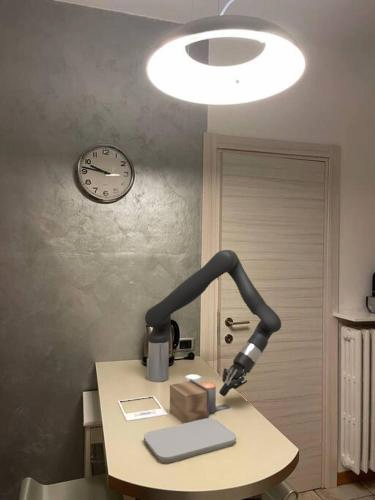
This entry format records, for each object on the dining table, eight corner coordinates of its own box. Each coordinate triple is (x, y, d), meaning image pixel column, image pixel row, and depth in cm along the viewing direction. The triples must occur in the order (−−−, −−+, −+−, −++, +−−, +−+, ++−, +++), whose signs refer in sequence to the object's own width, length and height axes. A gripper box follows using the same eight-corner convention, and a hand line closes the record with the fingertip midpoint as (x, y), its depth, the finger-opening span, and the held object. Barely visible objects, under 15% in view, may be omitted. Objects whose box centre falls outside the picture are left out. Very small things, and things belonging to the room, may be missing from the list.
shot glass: (181, 394, 152) (181, 377, 152) (189, 389, 158) (189, 372, 158) (196, 397, 148) (197, 380, 149) (204, 392, 155) (204, 375, 155)
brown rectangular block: (218, 400, 145) (218, 373, 146) (237, 412, 135) (237, 383, 135) (169, 412, 135) (169, 383, 135) (186, 426, 124) (186, 394, 124)
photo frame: (126, 419, 127) (117, 400, 144) (126, 423, 127) (117, 403, 144) (167, 413, 133) (153, 395, 149) (167, 416, 133) (153, 398, 149)
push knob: (209, 404, 140) (209, 380, 140) (218, 410, 134) (218, 385, 135) (196, 408, 137) (196, 383, 137) (204, 414, 132) (204, 388, 132)
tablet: (140, 440, 116) (140, 433, 116) (212, 423, 127) (212, 416, 127) (161, 467, 101) (161, 459, 101) (240, 445, 113) (240, 437, 113)
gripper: (231, 347, 149) (206, 383, 143) (252, 355, 137) (225, 394, 131) (242, 358, 151) (217, 394, 145) (264, 367, 140) (238, 406, 134)
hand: (221, 394), depth 138 cm, fingers closed
